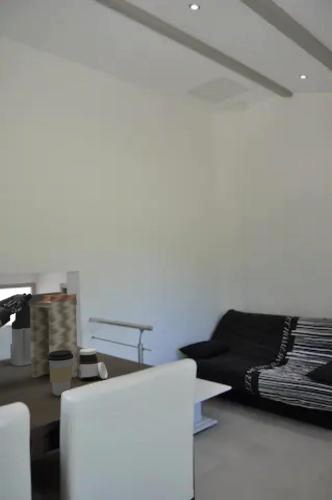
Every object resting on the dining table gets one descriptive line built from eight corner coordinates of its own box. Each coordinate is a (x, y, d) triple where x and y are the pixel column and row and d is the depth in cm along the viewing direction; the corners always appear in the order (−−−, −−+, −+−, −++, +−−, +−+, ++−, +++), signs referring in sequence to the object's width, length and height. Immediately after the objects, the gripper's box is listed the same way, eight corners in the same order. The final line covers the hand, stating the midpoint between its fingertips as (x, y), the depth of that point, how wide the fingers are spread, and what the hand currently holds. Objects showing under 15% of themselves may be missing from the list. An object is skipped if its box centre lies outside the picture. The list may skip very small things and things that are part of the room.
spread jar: (77, 376, 180) (76, 348, 180) (103, 373, 184) (103, 345, 184) (82, 383, 169) (81, 354, 169) (110, 380, 173) (109, 351, 173)
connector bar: (18, 303, 172) (17, 296, 172) (14, 303, 174) (13, 296, 174) (61, 299, 188) (61, 292, 188) (57, 298, 190) (57, 292, 190)
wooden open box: (52, 383, 171) (50, 296, 171) (30, 376, 181) (28, 295, 182) (78, 375, 180) (76, 294, 181) (56, 370, 191) (54, 293, 192)
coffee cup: (79, 390, 160) (78, 350, 160) (65, 398, 151) (64, 355, 151) (57, 388, 163) (56, 349, 163) (42, 396, 154) (41, 354, 155)
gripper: (-1, 313, 160) (33, 287, 171) (-19, 311, 169) (15, 287, 180) (8, 329, 162) (42, 303, 174) (-10, 326, 172) (23, 301, 183)
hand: (28, 295), depth 177 cm, fingers closed on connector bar, 3 cm apart
